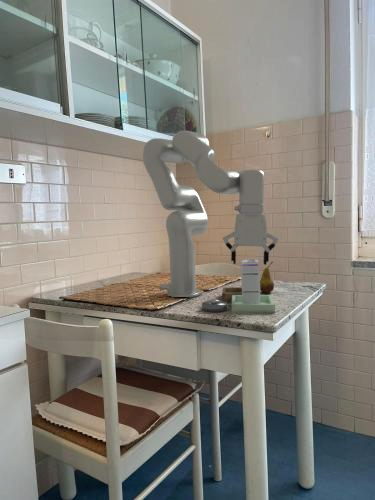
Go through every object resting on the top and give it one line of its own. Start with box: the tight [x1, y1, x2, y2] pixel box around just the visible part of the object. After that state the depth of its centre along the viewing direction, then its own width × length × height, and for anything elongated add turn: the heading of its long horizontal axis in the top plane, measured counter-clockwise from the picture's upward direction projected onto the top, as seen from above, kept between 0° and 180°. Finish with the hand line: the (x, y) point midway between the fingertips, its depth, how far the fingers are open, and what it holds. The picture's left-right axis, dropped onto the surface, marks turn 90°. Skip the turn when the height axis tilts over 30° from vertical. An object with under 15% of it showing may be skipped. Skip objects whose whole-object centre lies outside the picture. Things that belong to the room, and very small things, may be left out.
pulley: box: [201, 298, 228, 314], centre depth 120 cm, size 8×8×3 cm
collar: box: [221, 286, 242, 303], centre depth 134 cm, size 10×10×3 cm
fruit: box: [260, 261, 275, 294], centre depth 142 cm, size 6×6×12 cm
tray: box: [231, 294, 276, 314], centre depth 122 cm, size 13×13×2 cm
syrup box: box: [240, 259, 261, 304], centre depth 121 cm, size 6×6×14 cm
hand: (249, 263), depth 121 cm, fingers open, 9 cm apart
